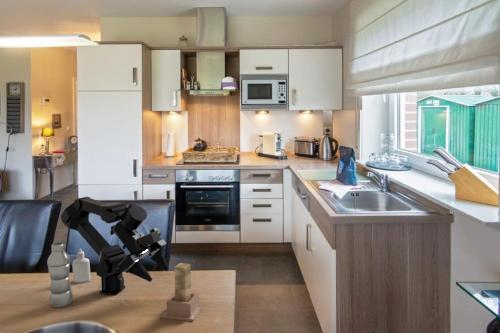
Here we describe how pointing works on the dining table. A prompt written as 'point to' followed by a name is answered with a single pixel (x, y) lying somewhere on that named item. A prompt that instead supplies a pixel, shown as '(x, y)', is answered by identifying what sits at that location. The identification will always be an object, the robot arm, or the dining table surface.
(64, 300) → the plastic bottle
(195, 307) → the holder cup
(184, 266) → the wooden block
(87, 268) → the eye dropper bottle
